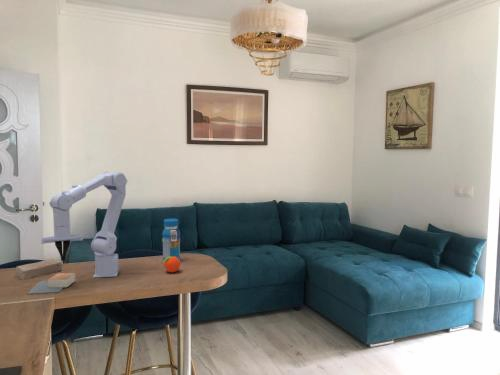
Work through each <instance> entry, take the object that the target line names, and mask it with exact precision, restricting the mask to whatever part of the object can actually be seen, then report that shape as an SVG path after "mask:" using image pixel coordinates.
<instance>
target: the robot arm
mask: <svg viewBox="0 0 500 375" xmlns="http://www.w3.org/2000/svg"><path fill="white" fill-rule="evenodd" d="M127 183H128V180H127V178H126V175H125V174H124V173H123V172H122V171H121V172H116V171H115V172H114V171H113V172H111V171H105V172H102V173H99V174H98V175H97V176H96V177H94V178H93V179H91V180H89V181H87V182H86V183H84V184H82V185H81V184H73V185H71V187H70V188H69V189H67V190H63V191H61V193H60V194H54V195H53V196H52V197H51V199H50V201H49V206H50V207H51V209H52V214H53V215H52V216H53V218H52V219H53V232H54V233H53V236H48V237H47V236H46V237H41V240H40V241H41V244H42V245H44V244H50V243H51V244H53V243H54V246H55V247H56V249H57V251H58V254H59V256H60V259H61V260H60V261H61V262H63V261H66V257H67V253H68V250H69V248H70V245H71V242H74V241H75V242H76V241H83V240H84V239H83V238H84V236H83V234H71V219H70V218H71V217H70V209H71V208H72V206H73V205H74V204H76V203H78V202H79V201H81V200H83V199H84V198H86V196H87V193H90V192H91V191H94V190H95V189H98V188H99V187H103V186H104V188H106V189H107V190H108V191H109V193H110V195H111V196H110V200H109V203H108V206H107V209H106V213H105V215H104V219H103V222H102V226H101V229H100V230H99V231H98V232H97V233H95V236H94V238H93V239H92V241H91V243H90V248H91V250H92V251H93V252H94V253H93V254H94V270H95V271H94V272H95V273H94V274H93V275H92V278H109V277H118V274H119V272H120V265H119V253H115V252H116V251H117V240H118V237H117V236H116V234H115V232H116V228H117V225H118V222H119V218H120V215H121V211H122V209H123V205H124V201H125V199H126V195H127V193H126V192H127V190H126V189H127V188H126V185H127Z"/></svg>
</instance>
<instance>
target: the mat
mask: <svg viewBox="0 0 500 375" xmlns="http://www.w3.org/2000/svg"><path fill="white" fill-rule="evenodd" d="M63 289H64V287H49V286H48V279H46V280H39V281H38V282H37V283H36V284H35V285H34V286H33V287H31V289H30V290H29V291H28V292H27V295H38V294H40V295H42V294H59V293H60V292H61V291H62V290H63Z"/></svg>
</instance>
